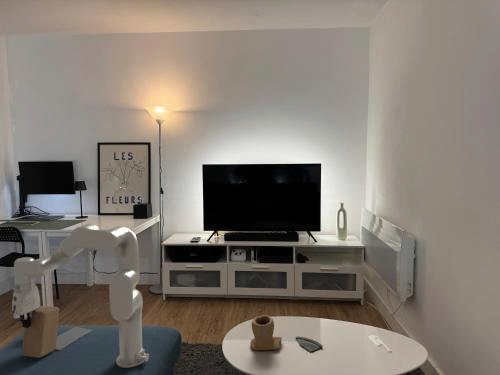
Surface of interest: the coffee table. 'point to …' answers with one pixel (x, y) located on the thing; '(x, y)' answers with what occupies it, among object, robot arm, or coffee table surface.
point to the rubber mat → (70, 337)
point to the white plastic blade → (378, 342)
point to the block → (41, 332)
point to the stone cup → (264, 334)
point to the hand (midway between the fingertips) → (26, 326)
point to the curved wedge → (308, 344)
